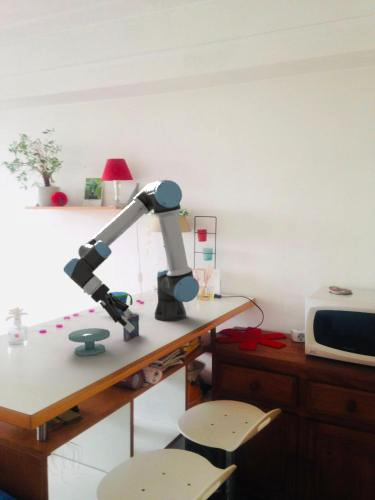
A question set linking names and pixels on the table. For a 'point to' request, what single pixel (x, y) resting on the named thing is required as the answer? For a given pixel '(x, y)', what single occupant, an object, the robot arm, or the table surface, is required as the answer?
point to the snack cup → (122, 298)
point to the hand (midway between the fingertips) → (134, 325)
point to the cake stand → (89, 340)
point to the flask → (135, 322)
